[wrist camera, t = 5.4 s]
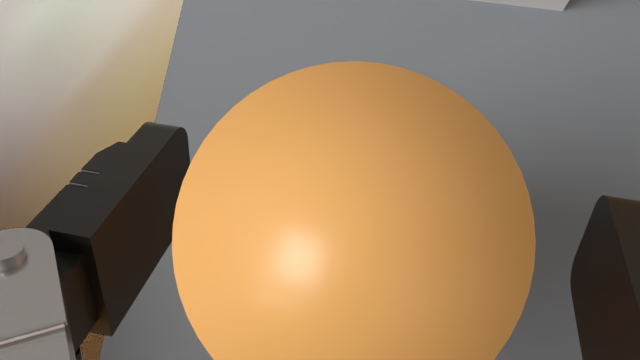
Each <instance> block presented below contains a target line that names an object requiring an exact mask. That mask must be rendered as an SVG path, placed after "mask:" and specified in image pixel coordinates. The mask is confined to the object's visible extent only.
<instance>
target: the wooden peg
mask: <svg viewBox="0 0 640 360" xmlns="http://www.w3.org/2000/svg"><path fill="white" fill-rule="evenodd" d="M535 247H536V238H535V224H534V215H533V211H532V206H531V201H530V196H529V192H528V190H527V187H526V184H525V181H524V178H523V176H522V173H521V170H520V168H519V166H518V164H517V162H516V160H515V159H514V157H513V155H512V153H511V151H510V149H509V148H508V146H507V145H506V143H505V142H504V140H503V139H502V137H501V136H500V135H499V133H498V132H497V130H496V129H495V128H494V127H493V126H492V125H491V123H490V122H489V121H488V120H487V119H486V118H485V117H484V116H483V115H482V114H481V112H479V111H478V110H477V109H476V108H475V107H474V106H472V105H471V104H470V103H469V102H468V101H466V100H465V99H464V98H463V97H462V96H460V95H458V94H457V93H455V92H454V91H452V90H451V89H449V88H448V87H446V86H445V85H443V84H441V83H439V82H437V81H435V80H433V79H431V78H429V77H427V76H424V75H422V74H419V73H416V72H413V71H410V70H408V69H405V68H402V67H397V66H392V65H387V64H382V63H375V62H361V61H348V62H332V63H326V64H321V65H315V66H310V67H307V68H304V69H300V70H297V71H294V72H291V73H288V74H286V75H284V76H282V77H279V78H277V79H275V80H273V81H270V82H268V83H267V84H265V85H264V86H262V87H260V88H259V89H257V90H255V91H254V92H252V93H250V94H249V95H248V96H247V97H245V98H244V99H243V100H241V101H240V102H239V103H238V104H236V105H235V106H234V107H233V108H232V109H231V110H230V111H229V112H228V113H227V114H226V115H225V116H224V117H223V118H222V119H221V120H220V121H219V122H218V123H217V124H216V125H215V126H214V128H213V129H212V130H211V132H210V133H209V134H208V136H207V137H206V138H205V139H204V141H203V142H202V144H201V146H200V147H199V149H198V151H197V153H196V154H195V156H194V158H193V159H192V161H191V163H190V166H189V168H188V170H187V173H186V175H185V177H184V180H183V182H182V186H181V189H180V192H179V196H178V199H177V203H176V208H175V215H174V221H173V231H172V255H173V266H174V274H175V278H176V283H177V287H178V292H179V296H180V298H181V301H182V304H183V307H184V309H185V312H186V315H187V317H188V319H189V321H190V323H191V325H192V327H193V329H194V331H195V333H196V335H197V337H198V338H199V340H200V341H201V343H202V344H203V346H204V347H205V348H206V350H207V351H208V353H209V354H210V356H211V357H212V358H213V359H214V360H494V359H495V358H496V356H497V355H498V353H499V352H500V351H501V349H502V348H503V346H504V345H505V343H506V342H507V341H508V339H509V338H510V336H511V334H512V332H513V330H514V328H515V326H516V324H517V322H518V320H519V318H520V316H521V314H522V311H523V308H524V305H525V302H526V300H527V297H528V294H529V291H530V286H531V281H532V276H533V271H534V263H535Z"/></svg>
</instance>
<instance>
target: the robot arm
mask: <svg viewBox="0 0 640 360" xmlns="http://www.w3.org/2000/svg"><path fill="white" fill-rule="evenodd" d="M189 166H190V155H189V144H188V135H187V132H186V130H185V129H184V128H183V127H177V126H171V125H165V124H158V123H152V122H146V123H144V124H143V125H142V126H141V128H140V129H139V130H138V131H137V132H136V133H135V134H134V135H133V136H132V138H131V139H130V140H129V141H128V142H127V143H124V142H117V143H115V144H113V145H111V146H110V147H108V148H106V149H104V150H102V151H100V152H98V153H96V154H95V155H94V157H93V158H92V159H91V160H90V161H89V162H88V163H87V164H86V165H85V166H84V167H83V168H82V171H81V172H78V173H77V174H76V175H75V176H74V177H73V179H72V180H71V181H70V184H69V185H66V186H65V187H64V188H63V189H62V190H61V191H60V192H59V193H58V194H57V195H56V196H55V197H54V198H53V200H52V201H51V202H50V203H49V204H48V205H47V206H46V207H45V208H44V209H43V210H42V211H41V212H40V213H39V214H38V215H37V216H36V217H35V218H34V219H33V220H32V222H31V223H30V224H29V225H28V226H27V227H26V228H12V229H6V230H2V231H0V360H83V354H82V351H81V347H80V345H81V344H82V342H83V341H84V339H85V338H86V336H87V335H88V333H89V332H92V333H97V334H101V335H106V336H111V337H112V336H113V334H114V333H115V331H116V330H117V328H118V326H119V325H120V323H121V322H122V320H123V318H124V317H125V315H126V314H127V312H128V310H129V309H130V307H131V306H132V304H133V303H134V301H135V299H136V298H137V296H138V295H139V293H140V291H141V290H142V288H143V287H144V285H145V283H146V282H147V280H148V279H149V277H150V275H151V274H152V272H153V271H154V269H155V267H156V266H157V264H158V263H159V261H160V260H161V258H162V256H163V255H164V253H165V252H166V250H167V248H168V247H169V245H170V244H171V242H172V231H173V221H174V215H175V208H176V203H177V199H178V196H179V192H180V189H181V186H182V182H183V180H184V177H185V175H186V173H187V170H188V168H189ZM570 287H571V295H572V301H573V306H574V312H575V318H576V324H577V330H578V336H579V342H580V347H581V353H582V359H583V360H640V201H637V200H631V199H625V198H618V197H612V196H606V195H602V196H601V197H600V198H599V199H598V200H597V202H596V204H595V207H594V209H593V212H592V214H591V217H590V219H589V222H588V224H587V227H586V229H585V232H584V234H583V237H582V239H581V242H580V244H579V247H578V250H577V252H576V255H575V257H574V261H573V265H572V270H571V279H570Z"/></svg>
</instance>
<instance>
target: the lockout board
mask: <svg viewBox="0 0 640 360" xmlns="http://www.w3.org/2000/svg"><path fill="white" fill-rule="evenodd" d="M348 61H361V62H375V63H382V64H387V65H392V66H397V67H402V68H405V69H408V70H410V71H413V72H416V73H419V74H422V75H424V76H427V77H429V78H431V79H433V80H435V81H437V82H439V83H441V84H443V85H445V86H446V87H448V88H449V89H451V90H452V91H454V92H455V93H457V94H458V95H460V96H462V97H463V98H464V99H465V100H466V101H468V102H469V103H470V104H471V105H472V106H474V107H475V108H476V109H477V110H478V111H479V112H481V114H482V115H483V116H484V117H485V118H486V119H487V120H488V121H489V122H490V123H491V125H492V126H493V127H494V128H495V129H496V130H497V132H498V133H499V135H500V136H501V137H502V139H503V140H504V142H505V143H506V145H507V146H508V148H509V149H510V151H511V153H512V155H513V157H514V159H515V160H516V162H517V164H518V166H519V168H520V170H521V173H522V176H523V178H524V181H525V184H526V187H527V190H528V192H529V196H530V201H531V206H532V211H533V215H534V224H535V238H536V247H535V263H534V271H533V276H532V281H531V286H530V291H529V294H528V297H527V300H526V302H525V305H524V308H523V311H522V314H521V316H520V318H519V320H518V322H517V324H516V326H515V328H514V330H513V332H512V334H511V336H510V338H509V339H508V341H507V342H506V343H505V345H504V346H503V348H502V349H501V351H500V352H499V353H498V355H497V356H496V358H495V359H494V360H583V359H582V353H581V347H580V342H579V336H578V330H577V324H576V318H575V312H574V306H573V301H572V295H571V287H570V279H571V270H572V265H573V261H574V257H575V255H576V252H577V250H578V247H579V244H580V242H581V239H582V237H583V234H584V232H585V229H586V227H587V224H588V222H589V219H590V217H591V214H592V212H593V209H594V207H595V204H596V202H597V200H598V199H599V198H600V197H601V196H602V195H606V196H612V197H618V198H625V199H631V200H637V201H640V0H184V1H183V5H182V10H181V14H180V18H179V22H178V27H177V31H176V35H175V39H174V43H173V48H172V52H171V56H170V60H169V65H168V69H167V73H166V77H165V82H164V86H163V90H162V94H161V98H160V103H159V107H158V111H157V115H156V120H155V123H158V124H165V125H171V126H177V127H183V128H184V129H185V130H186V132H187V135H188V144H189V155H190V163H191V161H192V159H193V158H194V156H195V154H196V153H197V151H198V149H199V147H200V146H201V144H202V142H203V141H204V139H205V138H206V137H207V136H208V134H209V133H210V132H211V130H212V129H213V128H214V126H215V125H216V124H217V123H218V122H219V121H220V120H221V119H222V118H223V117H224V116H225V115H226V114H227V113H228V112H229V111H230V110H231V109H232V108H233V107H234V106H235V105H236V104H238V103H239V102H240V101H241V100H243V99H244V98H245V97H247V96H248V95H249V94H250V93H252V92H254V91H255V90H257V89H259V88H260V87H262V86H264V85H265V84H267V83H268V82H270V81H273V80H275V79H277V78H279V77H282V76H284V75H286V74H288V73H291V72H294V71H297V70H300V69H304V68H307V67H310V66H315V65H321V64H326V63H332V62H348ZM99 360H214V359H213V358H212V357H211V356H210V354H209V353H208V351H207V350H206V348H205V347H204V346H203V344H202V343H201V341H200V340H199V338H198V337H197V335H196V333H195V331H194V329H193V327H192V325H191V323H190V321H189V319H188V317H187V315H186V312H185V309H184V307H183V304H182V301H181V298H180V296H179V292H178V287H177V283H176V278H175V274H174V266H173V255H172V242H171V244H170V245H169V247H168V248H167V250H166V252H165V253H164V255H163V256H162V258H161V260H160V261H159V263H158V264H157V266H156V267H155V269H154V271H153V272H152V274H151V275H150V277H149V279H148V280H147V282H146V283H145V285H144V287H143V288H142V290H141V291H140V293H139V295H138V296H137V298H136V299H135V301H134V303H133V304H132V306H131V307H130V309H129V310H128V312H127V314H126V315H125V317H124V318H123V320H122V322H121V323H120V325H119V326H118V328H117V330H116V331H115V333H114V334H113V336H112V337H111V336H106V335H104V339H103V343H102V348H101V352H100V356H99Z"/></svg>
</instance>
